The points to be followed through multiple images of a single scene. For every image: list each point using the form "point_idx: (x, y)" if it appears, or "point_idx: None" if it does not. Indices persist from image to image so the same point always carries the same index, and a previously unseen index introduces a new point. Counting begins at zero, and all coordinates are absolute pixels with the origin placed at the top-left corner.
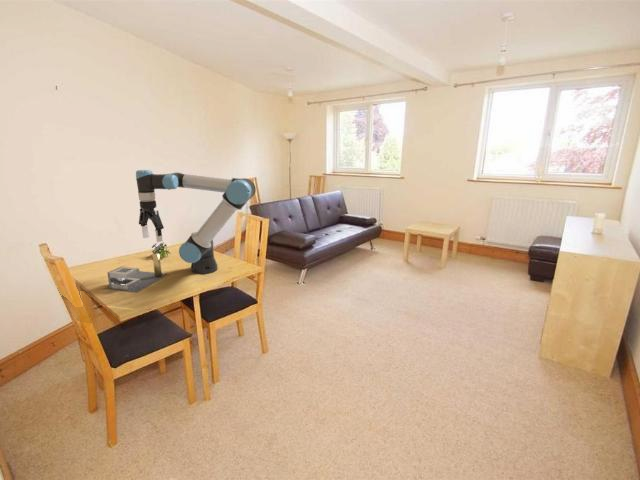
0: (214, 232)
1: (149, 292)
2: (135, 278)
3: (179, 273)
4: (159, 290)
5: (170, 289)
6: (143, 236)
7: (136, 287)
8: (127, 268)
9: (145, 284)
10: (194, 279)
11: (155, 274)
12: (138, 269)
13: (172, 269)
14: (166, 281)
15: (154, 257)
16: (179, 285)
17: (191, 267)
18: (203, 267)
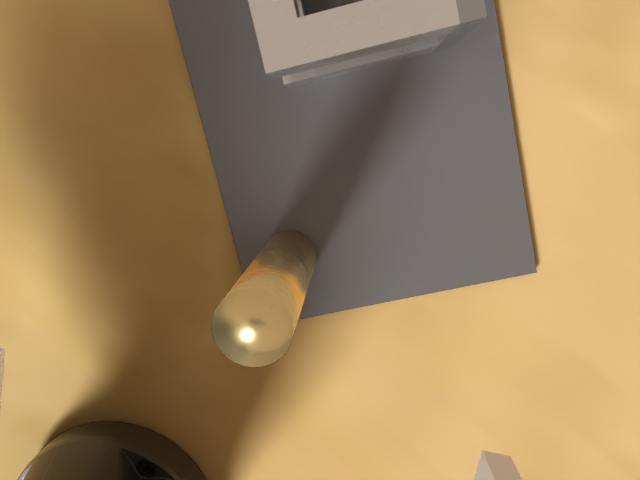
0: None
1: (97, 7)
2: (330, 71)
3: (217, 378)
4: (67, 71)
5: (17, 123)
6: (504, 475)
7: (245, 10)
8: (365, 4)
9: (237, 89)
10: (29, 336)
11: (286, 235)
12: (265, 65)
13: (334, 418)
14: (168, 220)
15: (241, 282)
16: (25, 207)
17: (154, 464)
18: (26, 477)
